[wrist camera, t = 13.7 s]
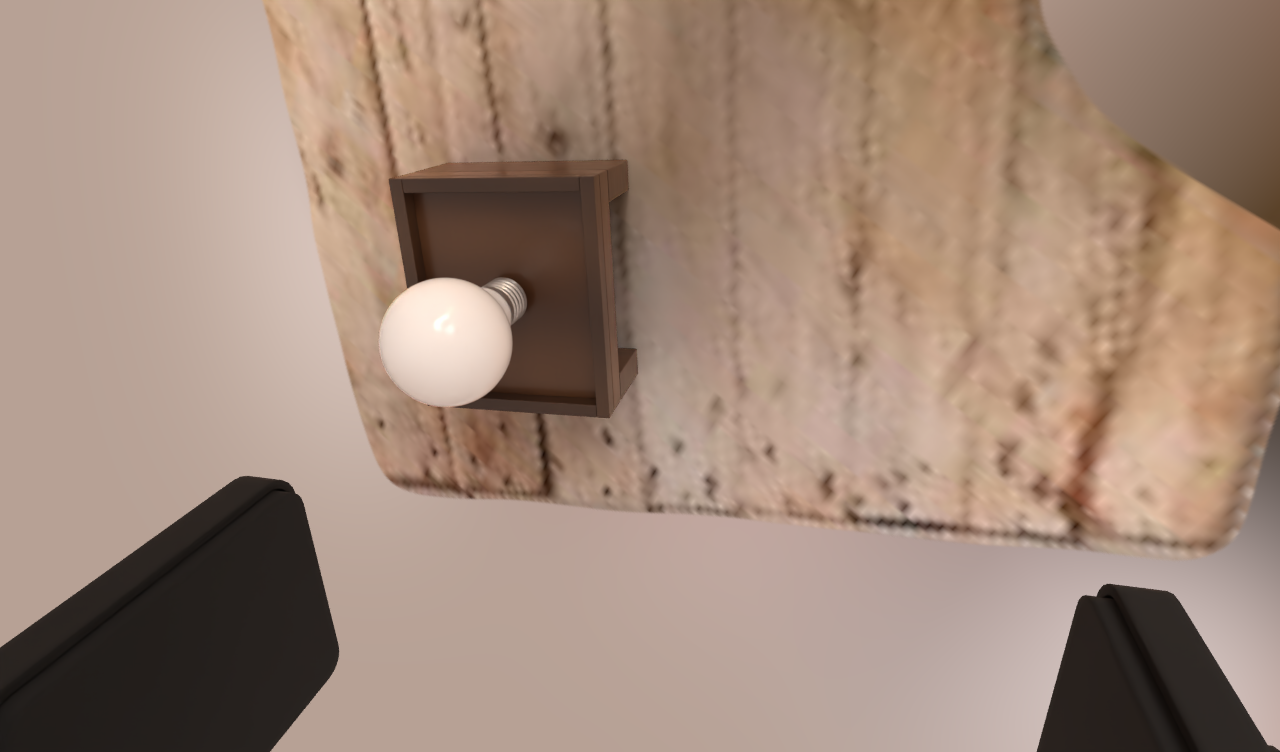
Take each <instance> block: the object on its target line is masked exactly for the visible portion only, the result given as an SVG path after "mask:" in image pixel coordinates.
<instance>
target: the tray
mask: <svg viewBox="0 0 1280 752" xmlns="http://www.w3.org/2000/svg"><path fill="white" fill-rule="evenodd" d="M389 184H390V190H391V196H392V201H393V207H394V213H395V219H396V225H397V230H398V236H399V242H400V248H401V254H402V259H403V265H404V271H405V277H406V283H407V288H409V287H411V286H413V285H415V284H417V283H419V282H422V281H425V280H429V279H433V278H457V279H461V280H465V281H468V282H471V283H473V284H475V285H477V286H479V287H482V286H484V285H485V284H487V283H489V282H490V281H492V280H493V279H495V278H500V277H504V278H509V279H512V280H514V281H515V282H517V283H518V284H519V285H520V286H521V287H522V289H523V290H524V292H525V295H526V298H527V308H526V311H525V313H524V314H523V316H522V317H521V318H520V319H518V320H517V321H516V322H515V323H514V324H512V325H511V331H512V338H513V347H512V355H511V359H510V363H509V365H508V368H507V370H506V372H505V374H504V376H503V377H502V379H501V380H500V381H499V383H498V384H497V385H496V386H495V387H494V388H493V389H492V390H491V391H490V392H489V393H487V394H486V395H485V396H483V397H482V398H480V399H478V400H476V401H474V402H471V403H469V404H466V405H462V406H456V407H455V408H470V409H484V410H499V411H513V412H528V413H543V414H557V415H572V416H586V417H599V418H610V417H611V415H612V414H613V412H614V410H615V408H616V407H617V405H618V403H619V402H620V400H621V399H622V397H623V396H624V394H625V393H626V391H627V389H628V388H629V386H630V385H631V383H632V382H633V380H634V378H635V377H636V375H637V374H638V366H637V349H627V348H618V346H617V330H616V313H615V296H614V279H613V263H612V246H611V229H610V213H609V202H610V201H612V200H613V199H615V198H616V197H618V196H619V195H621V194H623V193H624V192H626V191H627V190H628V189H629V185H628V164H627V160H591V161H534V162H476V163H446V164H442V165H439V166H435V167H431V168H428V169H424V170H420V171H416V172H413V173H409V174H406V175H402V176H398V177H394V178H390V179H389ZM428 406H431V405H428Z"/></svg>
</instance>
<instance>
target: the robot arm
mask: <svg viewBox="0 0 1280 752" xmlns="http://www.w3.org/2000/svg"><path fill="white" fill-rule="evenodd" d="M338 657H339V646H338V641H337V637H336V633H335V629H334V625H333V621H332V617H331V613H330V609H329V605H328V601H327V597H326V593H325V589H324V585H323V581H322V576H321V572H320V569H319V564H318V560H317V556H316V552H315V548H314V544H313V540H312V536H311V532H310V528H309V524H308V520H307V516H306V512H305V507H304V504H303V501H302V499H301V497H300V496H299V495H298V494H295V491H294V489H293V487H292V486H291V485H290V484H289V483H288V482H285V481H283V480H276V479H268V478H260V477H252V476H243V477H239V478H237V479H235V480H233V481H232V482H230V483H229V484H228V485H226V486H225V487H223V488H222V489H221V490H219V491H218V492H216V493H215V494H214V495H212V496H211V497H209V498H208V499H207V500H205V501H204V502H202V503H201V504H200V505H198V506H197V507H196V508H194V509H193V510H191V511H190V512H189V513H187V514H186V515H184V516H183V517H182V518H180V519H179V520H177V521H176V522H175V523H173V524H172V525H170V526H169V527H168V528H167V529H165V530H164V531H162V532H161V533H159V534H158V535H157V536H155V537H154V538H152V539H151V540H150V541H148V542H147V543H145V544H144V545H143V546H141V547H140V548H139V549H137V550H136V551H134V552H133V553H132V554H130V555H129V556H127V557H126V558H125V559H123V560H122V561H120V562H119V563H118V564H116V565H115V566H113V567H112V568H111V569H109V570H108V571H106V572H105V573H104V574H102V575H101V576H100V577H98V578H97V579H95V580H94V581H92V582H91V583H90V584H88V585H87V586H85V587H84V588H83V589H81V590H80V591H78V592H77V593H76V594H74V595H73V596H72V597H70V598H69V599H68V600H66V601H65V602H63V603H62V604H60V605H59V606H58V607H56V608H55V609H53V610H52V611H51V612H49V613H48V614H47V615H45V616H44V617H42V618H41V619H40V620H38V621H37V622H35V623H34V624H32V625H31V626H30V627H28V628H27V629H26V630H24V631H23V632H21V633H20V634H19V635H17V636H16V637H14V638H13V639H12V640H10V641H9V642H8V643H6V644H5V645H3V646H2V647H1V648H0V752H270V751H271V750H272V749H273V747H274V746H275V745H276V743H277V742H278V741H279V740H280V739H281V737H282V736H283V735H284V734H285V732H286V731H287V730H288V729H289V727H290V726H291V725H292V724H293V722H294V721H295V720H296V719H297V718H298V716H299V715H300V714H301V713H302V711H303V710H304V709H305V708H306V706H307V705H308V704H309V703H310V701H311V700H312V699H313V698H314V696H315V695H316V694H317V693H318V691H319V690H320V689H321V688H322V686H323V685H324V684H325V683H326V682H327V680H328V679H329V678H330V676H331V675H332V673H333V672H334V669H335V667H336V665H337V661H338ZM1037 752H1280V751H1279V750H1278V749H1276V748H1275V747H1274V746H1269V745H1267V743H1266V742H1265V740H1264V738H1263V737H1262V735H1261V733H1260V732H1259V730H1258V729H1257V727H1256V726H1255V724H1254V722H1253V721H1252V719H1251V717H1250V716H1249V714H1248V713H1247V711H1246V709H1245V707H1244V706H1243V704H1242V702H1241V701H1240V699H1239V698H1238V696H1237V694H1236V693H1235V691H1234V690H1233V688H1232V686H1231V685H1230V683H1229V682H1228V680H1227V678H1226V676H1225V675H1224V673H1223V672H1222V670H1221V668H1220V667H1219V665H1218V664H1217V662H1216V660H1215V659H1214V657H1213V655H1212V654H1211V652H1210V650H1209V649H1208V647H1207V646H1206V644H1205V642H1204V641H1203V639H1202V637H1201V636H1200V634H1199V633H1198V631H1197V629H1196V628H1195V626H1194V624H1193V623H1192V621H1191V619H1190V618H1189V616H1188V615H1187V613H1186V612H1185V610H1184V608H1183V607H1182V605H1181V603H1180V602H1179V601H1178V599H1177V598H1176V597H1175V595H1174V594H1172V593H1170V592H1168V591H1162V590H1154V589H1146V588H1137V587H1130V586H1122V585H1113V584H1106V585H1103V586H1102V587H1101V589H1100V590H1099V592H1098V594H1097V597H1095V596H1087V595H1085V596H1082V597H1081V598H1080V599H1079V601H1078V604H1077V607H1076V610H1075V614H1074V618H1073V621H1072V625H1071V629H1070V632H1069V636H1068V640H1067V643H1066V647H1065V651H1064V654H1063V658H1062V661H1061V665H1060V669H1059V673H1058V676H1057V680H1056V684H1055V687H1054V691H1053V694H1052V698H1051V702H1050V705H1049V709H1048V713H1047V716H1046V720H1045V724H1044V727H1043V731H1042V734H1041V738H1040V742H1039V746H1038V749H1037Z"/></svg>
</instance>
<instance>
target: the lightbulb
mask: <svg viewBox="0 0 1280 752" xmlns="http://www.w3.org/2000/svg"><path fill="white" fill-rule="evenodd" d="M526 308H527V298H526V295H525V292H524V290H523V289H522V287H521V286H520V285H519V284H518V283H517V282H515V281H514V280H512V279H509V278H504V277H500V278H495V279H493V280H492V281H490V282H489V283H487V284H485V285H484V286H482V287H479V286H477V285H475V284H473V283H471V282H468V281H465V280H461V279H457V278H433V279H429V280H425V281H422V282H419V283H417V284H415V285H413V286H411V287H409V288H408V289H406V290H405V291H403V292H402V293H401V294H400V295H399V296H398V297H397V298H396V299H395V300H394V301H393V302H392V304H391V305H390V306H389V308H388V310H387V311H386V313H385V315H384V317H383V320H382V323H381V327H380V331H379V352H380V357H381V360H382V363H383V366H384V368H385V370H386V372H387V374H388V376H389V377H390V379H391V380H392V381H393V383H394V384H395V385H396V386H397V387H398V388H399V389H400V390H401V391H402V392H404V393H405V394H406V395H408V396H409V397H411V398H413V399H415V400H417V401H419V402H421V403H424V404H427V405H431V406H437V407H456V406H462V405H466V404H469V403H471V402H474V401H476V400H478V399H480V398H482V397H483V396H485V395H486V394H487V393H489V392H490V391H491V390H492V389H493V388H494V387H495V386H496V385H497V384H498V383H499V381H500V380H501V379H502V377H503V376H504V374H505V372H506V370H507V368H508V365H509V363H510V359H511V355H512V347H513V338H512V331H511V325H512V324H514V323H515V322H516V321H517V320H518V319H520V318H521V317H522V316H523V314H524V313H525V311H526Z"/></svg>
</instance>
